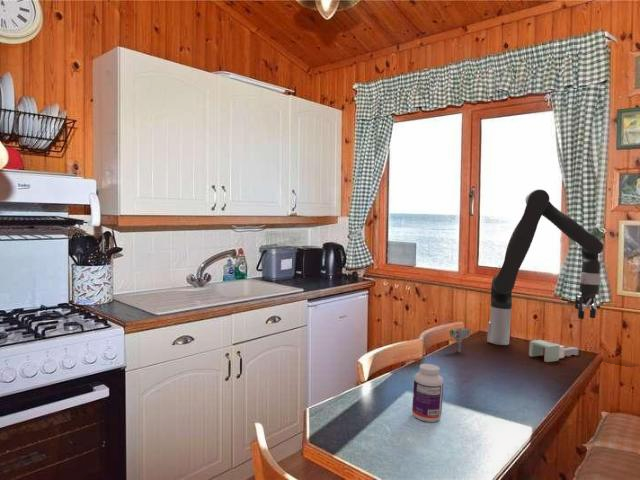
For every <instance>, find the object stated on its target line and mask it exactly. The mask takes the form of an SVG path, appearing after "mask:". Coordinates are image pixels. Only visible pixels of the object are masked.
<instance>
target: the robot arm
mask: <svg viewBox="0 0 640 480" xmlns="http://www.w3.org/2000/svg"><path fill="white" fill-rule="evenodd" d="M525 204H526V205H525V208H524V211H523V214H522V217H521V218H520V220H519V221H518V223H517V224H516V226H515V228H514V230H513V232H512V234H511V236H510V238H509V240H508V244H507V246H506V250H505V256H504V261H503V263H502V266H501V268H500V270H499V272H498V273H497V274H495V276H493V277H492V280H491V287H490V310H489V311H490V312H489V313H490V314H489V322H488V325H487V337H486V339H487V340H486V342H487V343H490V344H492V345H496V346H509V344H510V337H511V336H510V333H511V323H512V322H511V321H512V320H511V319H512V308H513V307H512V306H513V301H512V292H513V290H514V289H515V288H514V287H515V283H516V281H517V277H518V274H519V271H520V268H521V266H522V264H523V262H524V261H525V258H526V257H527V255H528V252H529V250H530V247H531V245H532V243H533V239H534V238H535V234H536V231H537V230H538V229H537V228H538V224H539V222H540V219H541V218H542V216H543V217H544V218H545V219H547V220H548V221H549V222H551V224H553V225H554V226H556V228H557V229H559V230H560V231H561V232H562V233H563V235H565V236H566V237H567V238H569V239H570V240H571V241H573V242H575V243H577V244H578V245H579V246H580V247H581V261H582V263H581V271H580V276H579V277H580V278H579V289H578V291H579V293H581V295H576V297H575V303H574V309H576V310H577V311H578V312H577V318H578V319H579V320H585V309H586V308H588V306H589V318H590V319H595V318H596V316H597V315H596V314H597V310H600V308H601V305H600V306H597V303H596V301H595V294H596V295H598V294H599V292H600V291H599V290H600V281H601V277H600V273H601V272H600V271H601V263H600V261H599V254H601V253H602V252H603V250H604V244H603V242H602V241H601V240H600V239H599V238H598V237H596V236H595V235H593V234H592V233H590V232H588V231H587V230H586V229H585V228H584V227H582V226H581V225H580V224H579V223H578V222H577V221H576V220H574V219H573V218H571V217H570V216H568V215H567V214H565V213H563V212H562V211H561V210H559V209H558V208H557V207H555V206H554V205H553V204H552V202H551V201H550V195H549V194H548V192H547V191H546V190H544V189H541V188H540V189H534V190H532V191H531V192H528V193H527V195H526V197H525Z"/></svg>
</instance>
